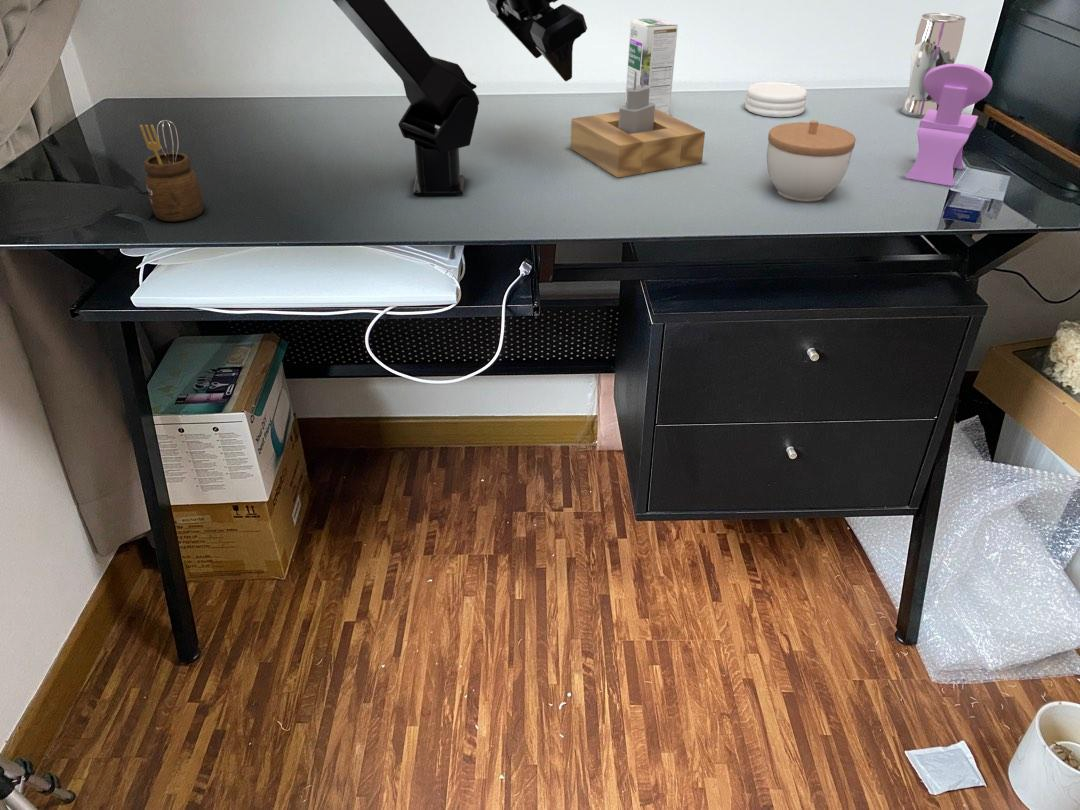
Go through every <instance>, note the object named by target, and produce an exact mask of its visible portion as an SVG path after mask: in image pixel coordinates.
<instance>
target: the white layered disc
mask: <svg viewBox="0 0 1080 810" xmlns="http://www.w3.org/2000/svg"><path fill="white" fill-rule="evenodd" d="M807 97H808V90H807V89H806V88H805V87H803V86H801V85H798V84H793V83H789V82H783V81H782V82H781V81H763V82H762V81H761V82H755V83H752V84H750V85H749V86H748V87H747V88H746V95H745V102H744V107H745V109H746V110H747V111H748V112H750V113H753V114H755V115H758V116H762V117H763V116H764V117H770V118H791V117H796V116H799V115H801V114H802V113H804V112H805V110H806V103H807Z"/></svg>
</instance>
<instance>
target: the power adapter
mask: <svg viewBox="0 0 1080 810" xmlns="http://www.w3.org/2000/svg"><path fill="white" fill-rule="evenodd" d="M636 75H637V72H635V78H634V87H631V88H628V89H627V101H626V105H625V104H624V105H622V106H620V107H618V108H619V110H618V112H619V126H618V129H620V130H622V131H624V132H626V133H628V134H634V133H640V132H647V131H653V127H654V114H655V104H654V103H650V102H649V93H650V87H649V86H648V85H644V69H643V71H642V83H641V85H638V86H636Z"/></svg>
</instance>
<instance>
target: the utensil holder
mask: <svg viewBox="0 0 1080 810" xmlns="http://www.w3.org/2000/svg"><path fill="white" fill-rule="evenodd" d="M165 122H167V124H168V126H169V132H170V136H171V143H172V145H171V146H172V152H169V151H168V147H167V142H166V137H165V132H164V123H165ZM169 122H170V123H171V124H172V125H173V126H174V129H175V133H176V138H177V139H176V140H177V148H176V151H175V146H174V139H173V138H174V137H173V133H172V128H171V125H170V123H169ZM160 123H161V130H162V136H163V140H164V142H163V143H164V146H165V149H166V152H165V151H164V150H163V147H162V145H161V141H160V137H159V136H160V135H158V134H159V125H160ZM144 127H145V129H144ZM139 128H140V131H141V133H142V137H143V139H144V143H145V145H146V148H147V149H148V150H150V151H152V152H154V154H153V155H150V156H148V157H147V158H145V160H144V162H143V165H144V171H145V172H146V177H145V186H146V189H147V193H148V198H149V201H150V205H151V208H152V211H153V214H154V216H155V218H157V219H158V220H159V221H162V222H169V223H170V222H171V223H172V222H173V223H175V222H184V221H189V220H192V219H195V218H197V217H199V216H201V215H202V213H203V211H204V202H203V198H202V194H201V189H200V184H199V180H198V177H197V174H196V172H195V171H194V170H193V169H192V168H191V167H192V163H191V160H190V158H189V156H188V155H187V154H186V153H182V152H178V151H179V136H178V131H177V127H176V126H175V124H174V123H173V122H172V121H170V120H169V119H164V120H163V119H162V120H160V121H159V122H158V123H157V126H156V129H155V126H154V125H153V124H150V127H149V125H148V124H144V126H143V124H139ZM150 128H151V130H150ZM146 133H147V134H146ZM147 135H148V136H147ZM148 138H149V139H148ZM160 150H162V152H161V153H159V151H160Z"/></svg>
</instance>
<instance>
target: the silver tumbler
mask: <svg viewBox="0 0 1080 810" xmlns="http://www.w3.org/2000/svg"><path fill="white" fill-rule="evenodd" d="M966 20H967V18H966V17H965V16H962V15H959V14H953V13H946V12H945V13H944V12H930V13H923V14H921V16H920V20H919V24H918V27H917V31H916V33H915V37H914V41H913V45H912V51H911V58H910V72H909V84H908V90H907V94H906V96H905V99H904V101H903V104H902V106H901V109H900V112H901V114H903V115H906V116H908V117H912V118H919V119H922V118H923V117H924V116H925V115H926V113H927V112H928V110H929V109H930V110H938V107H939V105H938V103H937V102H936V101H935V100H934V99H932V98H931V96H930V95H929V94H928V93H927V92H926V90H925V89H924V85H923V82H924V77H925V75H926V73H927V72H928V71H929V70H931V69H933V68H935V67H938V66H941V65H946V64H956V61H957V58H958V55H959V52H960V48H961V44H962V40H963V35H964V29H965V24H966Z"/></svg>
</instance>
